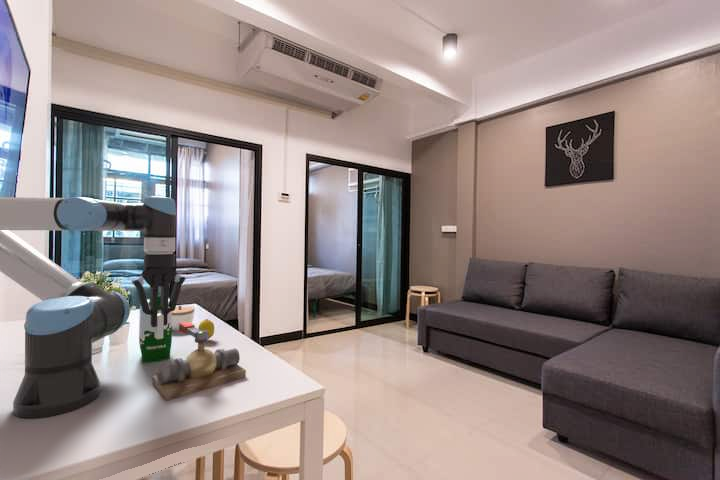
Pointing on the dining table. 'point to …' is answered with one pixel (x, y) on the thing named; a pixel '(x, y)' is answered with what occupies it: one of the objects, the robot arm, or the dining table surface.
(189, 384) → the valve rig
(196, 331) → the lever
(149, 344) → the milk carton
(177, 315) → the lidded jar
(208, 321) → the lemon
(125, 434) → the dining table surface
